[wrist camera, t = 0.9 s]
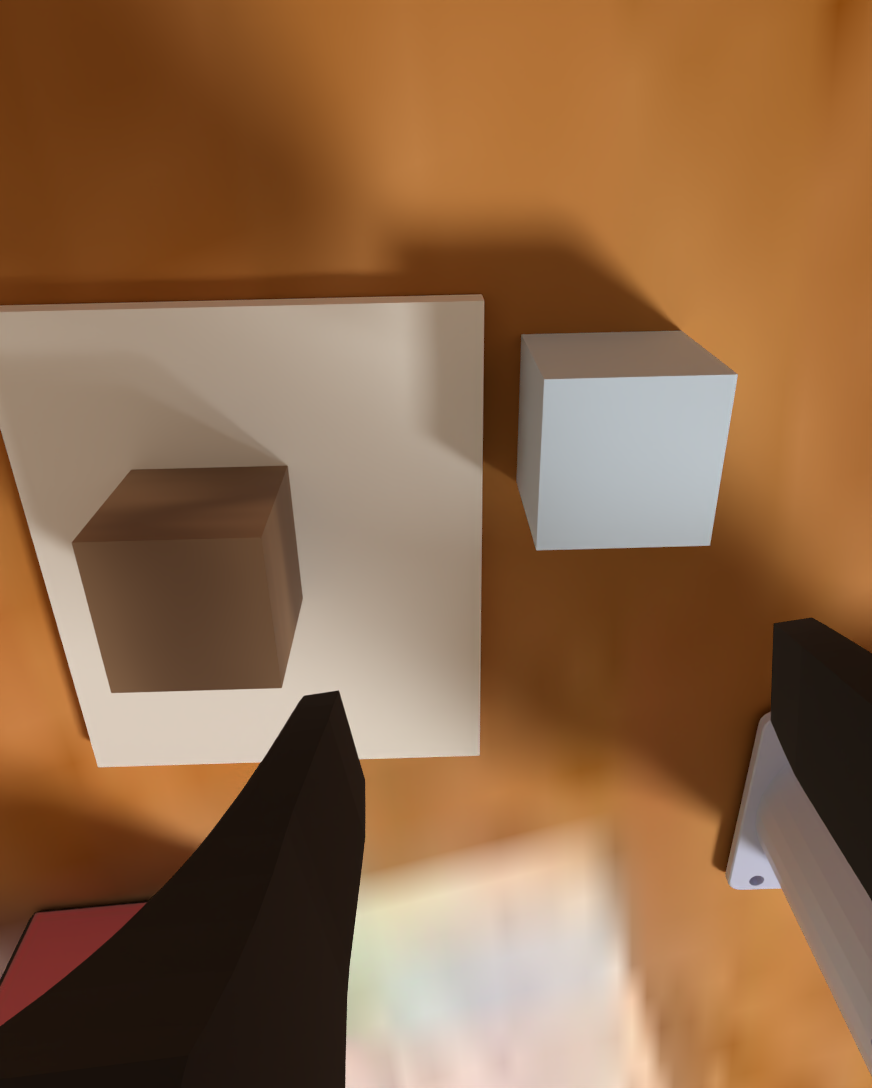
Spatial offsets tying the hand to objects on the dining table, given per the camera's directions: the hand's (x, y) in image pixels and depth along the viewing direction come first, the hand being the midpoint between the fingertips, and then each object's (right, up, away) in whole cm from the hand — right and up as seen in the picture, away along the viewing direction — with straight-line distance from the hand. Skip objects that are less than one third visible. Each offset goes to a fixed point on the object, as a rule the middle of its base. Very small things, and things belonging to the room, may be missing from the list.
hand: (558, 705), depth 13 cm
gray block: (+2, +6, +8) cm, 10 cm away
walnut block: (-8, +3, +8) cm, 12 cm away
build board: (-7, +2, +9) cm, 12 cm away
